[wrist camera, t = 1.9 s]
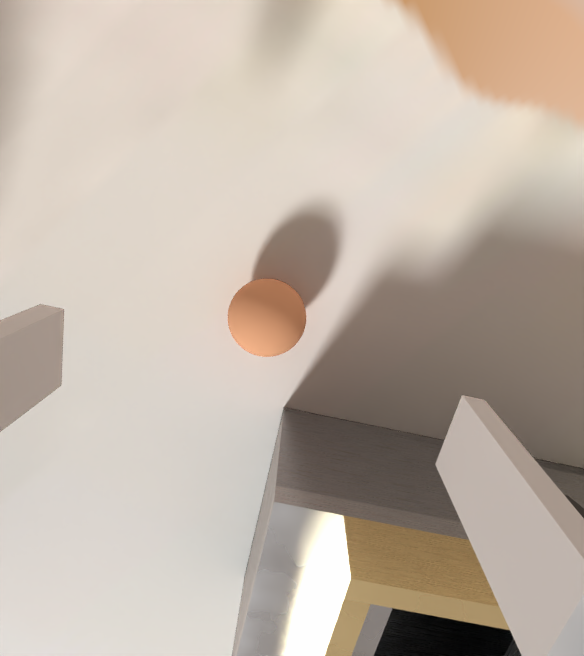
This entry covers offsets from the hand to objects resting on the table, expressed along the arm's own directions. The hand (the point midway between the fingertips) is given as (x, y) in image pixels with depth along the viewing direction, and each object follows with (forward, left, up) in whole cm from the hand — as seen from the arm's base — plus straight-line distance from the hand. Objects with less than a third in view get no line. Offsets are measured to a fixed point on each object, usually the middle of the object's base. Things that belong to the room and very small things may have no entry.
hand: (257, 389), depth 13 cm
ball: (0, 0, -10) cm, 10 cm away
